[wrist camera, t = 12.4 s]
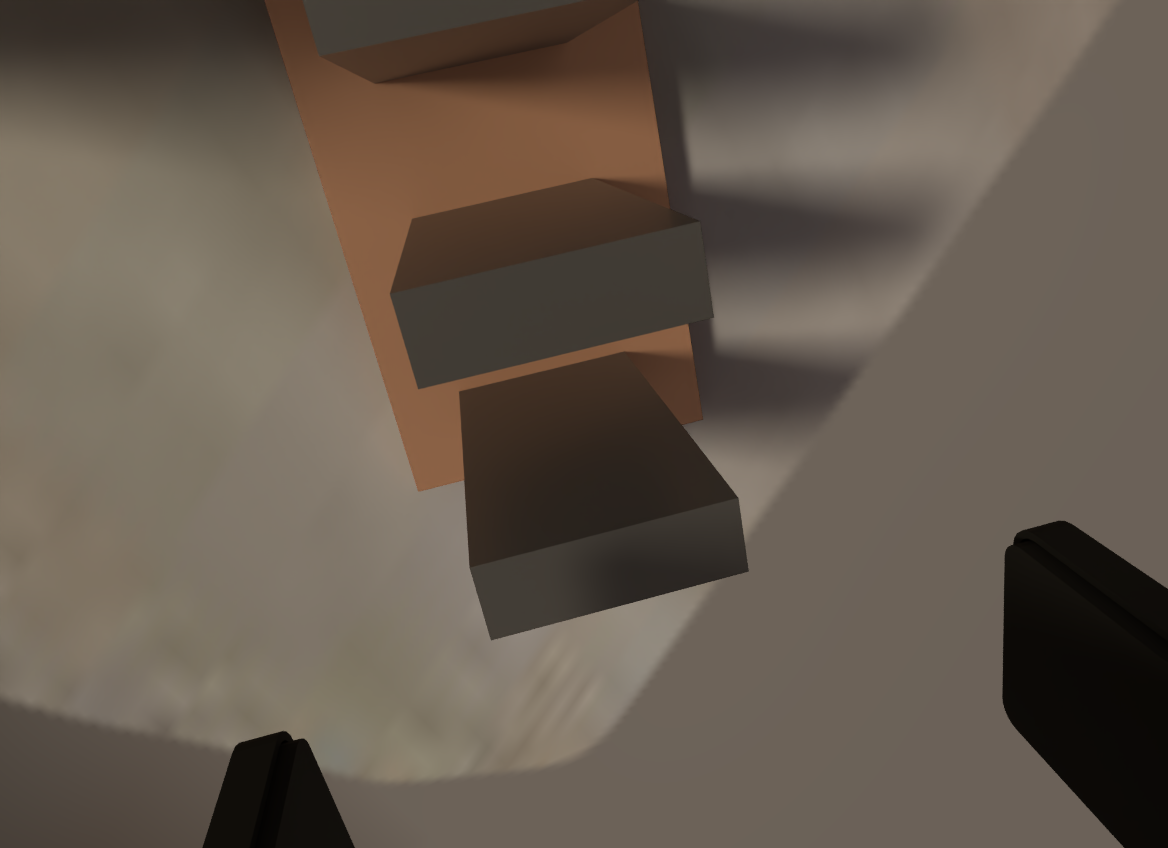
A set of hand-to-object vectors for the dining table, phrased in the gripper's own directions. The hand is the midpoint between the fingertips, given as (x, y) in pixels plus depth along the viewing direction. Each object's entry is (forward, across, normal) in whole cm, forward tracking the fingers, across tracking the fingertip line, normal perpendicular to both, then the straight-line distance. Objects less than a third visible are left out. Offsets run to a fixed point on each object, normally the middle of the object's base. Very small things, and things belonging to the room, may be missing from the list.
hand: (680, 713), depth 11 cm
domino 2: (+15, 0, -4) cm, 15 cm away
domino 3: (+14, 0, +1) cm, 15 cm away
